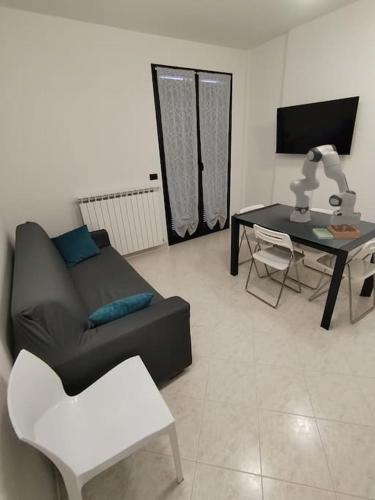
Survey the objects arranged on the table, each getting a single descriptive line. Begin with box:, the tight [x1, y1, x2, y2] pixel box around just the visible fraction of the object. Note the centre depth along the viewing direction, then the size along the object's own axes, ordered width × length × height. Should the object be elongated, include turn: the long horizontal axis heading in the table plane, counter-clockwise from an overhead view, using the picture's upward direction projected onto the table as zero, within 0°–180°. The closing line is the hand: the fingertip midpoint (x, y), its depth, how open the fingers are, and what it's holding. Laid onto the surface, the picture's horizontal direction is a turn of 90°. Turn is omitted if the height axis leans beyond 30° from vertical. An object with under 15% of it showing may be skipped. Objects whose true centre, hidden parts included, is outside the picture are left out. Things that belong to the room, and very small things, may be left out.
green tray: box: [312, 228, 334, 241], centre depth 195 cm, size 18×10×3 cm, turn 170°
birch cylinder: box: [340, 224, 348, 232], centre depth 190 cm, size 4×4×8 cm
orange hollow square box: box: [326, 224, 361, 240], centre depth 191 cm, size 17×17×6 cm
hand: (343, 229), depth 190 cm, fingers open, 8 cm apart
